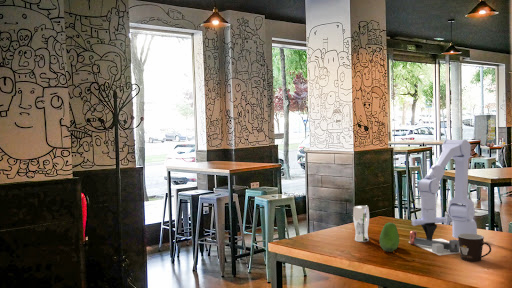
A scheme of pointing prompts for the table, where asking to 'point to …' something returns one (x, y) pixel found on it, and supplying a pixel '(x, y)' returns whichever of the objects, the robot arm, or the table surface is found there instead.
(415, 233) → the lever
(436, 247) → the white flat block
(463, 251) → the coffee mug
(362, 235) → the beer glass
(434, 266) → the table surface
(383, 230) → the avocado
